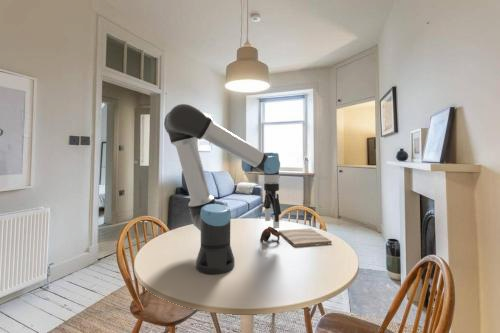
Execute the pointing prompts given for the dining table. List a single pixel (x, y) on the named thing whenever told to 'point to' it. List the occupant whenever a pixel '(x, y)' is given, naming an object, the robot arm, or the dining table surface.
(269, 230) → the brown arched figurine
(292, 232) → the walnut board
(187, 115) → the robot arm
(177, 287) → the dining table surface
